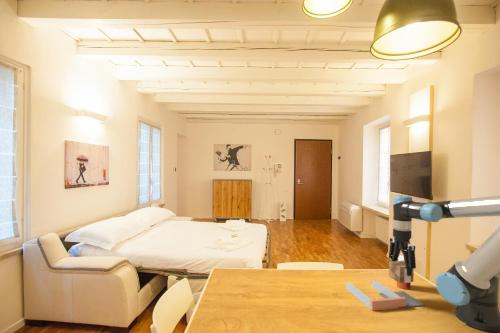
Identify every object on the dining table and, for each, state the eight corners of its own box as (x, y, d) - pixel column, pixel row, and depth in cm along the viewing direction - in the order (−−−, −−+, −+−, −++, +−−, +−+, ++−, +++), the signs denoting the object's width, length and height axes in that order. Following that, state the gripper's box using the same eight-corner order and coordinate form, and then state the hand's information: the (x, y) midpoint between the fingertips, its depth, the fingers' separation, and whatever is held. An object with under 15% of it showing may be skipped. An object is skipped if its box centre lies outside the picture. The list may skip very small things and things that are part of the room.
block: (413, 281, 125) (413, 266, 125) (399, 282, 124) (399, 267, 124) (402, 275, 132) (402, 260, 132) (389, 276, 131) (389, 261, 131)
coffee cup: (408, 283, 145) (408, 255, 145) (415, 290, 137) (416, 260, 137) (391, 283, 146) (391, 254, 146) (398, 290, 138) (398, 260, 138)
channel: (406, 307, 121) (406, 298, 121) (372, 310, 118) (372, 301, 118) (375, 286, 142) (375, 278, 142) (345, 288, 139) (345, 280, 139)
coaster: (424, 305, 123) (424, 304, 123) (398, 308, 120) (398, 306, 120) (403, 292, 135) (403, 291, 135) (379, 294, 133) (379, 293, 133)
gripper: (426, 234, 119) (425, 287, 119) (394, 224, 138) (393, 270, 138) (411, 234, 117) (410, 288, 117) (380, 224, 137) (380, 270, 137)
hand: (401, 278), depth 128 cm, fingers closed on block, 7 cm apart
